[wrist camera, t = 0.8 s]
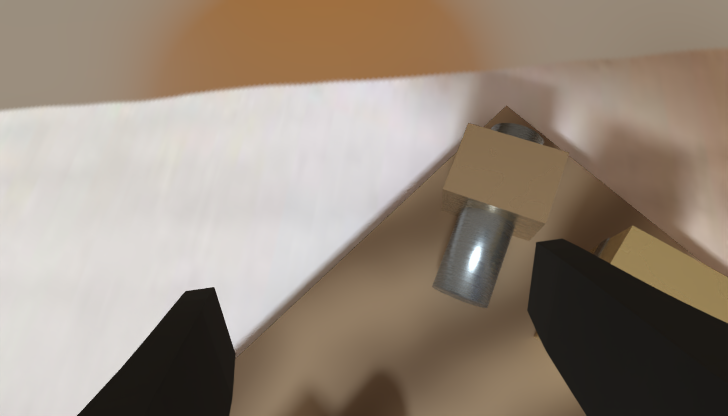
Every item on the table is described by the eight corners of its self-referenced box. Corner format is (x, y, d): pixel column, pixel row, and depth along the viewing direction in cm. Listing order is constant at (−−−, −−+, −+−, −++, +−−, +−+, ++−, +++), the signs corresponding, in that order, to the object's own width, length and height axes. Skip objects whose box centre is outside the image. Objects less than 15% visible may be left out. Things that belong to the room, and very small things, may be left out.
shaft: (503, 317, 23) (516, 313, 19) (414, 282, 24) (410, 272, 20) (555, 160, 25) (576, 130, 21) (470, 135, 26) (476, 101, 22)
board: (731, 300, 23) (747, 299, 21) (333, 718, 20) (327, 740, 19) (503, 115, 27) (506, 105, 26) (157, 438, 25) (144, 443, 24)
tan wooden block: (683, 310, 22) (772, 299, 16) (632, 402, 21) (706, 426, 15) (583, 252, 23) (632, 223, 17) (532, 337, 22) (565, 336, 17)
